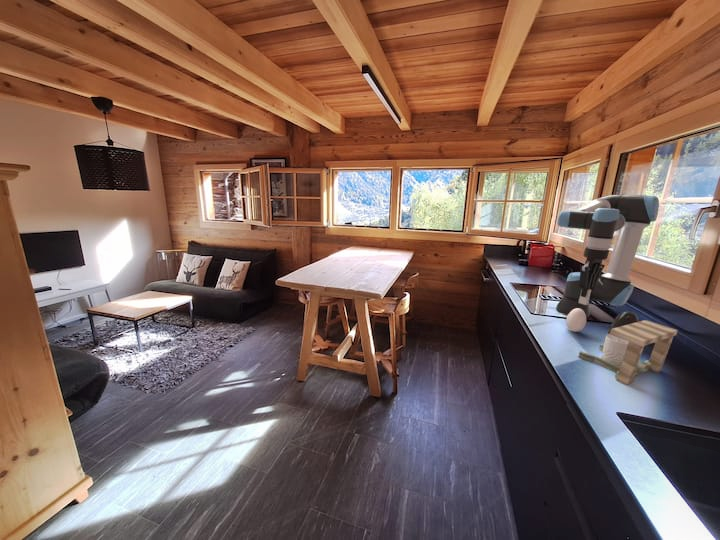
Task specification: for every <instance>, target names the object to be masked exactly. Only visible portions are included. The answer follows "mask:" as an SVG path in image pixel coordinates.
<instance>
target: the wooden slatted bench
mask: <svg viewBox="0 0 720 540" xmlns="http://www.w3.org/2000/svg"><path fill="white" fill-rule="evenodd" d="M678 331H679V330H678V329H676V328H672V327H670V326H666V325H663V324H660V323H656V322H653V321H650V320H647V319H644V320H641V321H639V322H636V323H632V324H628V325H624V326H621V327H617V328H613V329H611V331H610V335H613V336H616V337H618V338H621V339H623V340H626V341H629V342H628V345H627V348H626V351H625V355H624V358H623V361H622V364H621V367H619V366H616V365H614V364H612V363H610V362H608V361H606V360H603V359H601V357H599V356H596V355H594V354H591V353H587V352H583V351H582V350H581V351H579V353H578V358H581V359H583V360H586V361H590V362H593V363H595V364H597V365H599V366H601V367H604V368H605V369H607V370H610V371H612V372H614V373H616V374H615V377H614V378H615V379H616V381H618V382H619V383H620V384H621V383H622V384H624V385H625V386H629V385H631V384H632V383H633V379H634V377H635V376H637V375H640V374H642V373H644V372H648V371H652V372H655V373H660V372H661V371H662V368H663V366H664V363H665V360H666V357H667V356H668V352H669V350H670V347H671V344H672V342H673V338H674V336H677V334H678ZM651 344H654V345H653V349H652V351H651V354H650V357H649V359H645V360H644V361H641V362H640V359H641V356H642V353H643V351H644V348H645V346H648V345H651ZM603 347H604V344H600V345H599V347H598V349H599V351H601V352H603Z"/></svg>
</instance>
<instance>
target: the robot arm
mask: <svg viewBox="0 0 720 540" xmlns="http://www.w3.org/2000/svg"><path fill="white" fill-rule="evenodd" d="M659 200H660V199H659V198H658V197H657V196H656V195H648V194H647V195H646V194H642V195H641V194H611V195H607V196H603V197H602V196H601V197H599V198H595V199H593V200H592V201H590V202H588V204H586V205H583V206H582V207H580V208H579V207H578V208H577V209H575V210H572V209H571V210H570V209H566V210H561V211H560V212H559V214H558V215H557V221H556V222H557V225H558V226H559V227H561V228H566V229H578V230H580V229H581V230H588V231H589V232H588V235H587V238H586V244H585V246H586V247H585V248H584V251H583V255H582V256H583V257H584V258H586V260H585V262H584V265H580V266H579V271H580V272H579V271H577V272H576V271H575V272H570V273H569V274H568V276H567V279H566V283H565V287H564V290H563V295H562V296H561V297H562V298H561V299H560V300H559V302H558V303H557V304H556V307H555V310H556V311H557V312H558V313H560V314H563V315H565V316H568V314H569V313H570V312H571V311H572V310H573V309H576V308H580V309H582V310H583V311H584V312H585V315H586V319H588V318H589V317H590V316H591V315H590V313H591V311H590V304H589V302H590V299H591V300H593V301H598V302H601V303H605V304H609V305H613V306H618V307H622V306H624V305H625V304H626V303H627V301H628V300H629V298H630V297H631V295H632V293H633V290H634V288H635V285H634V284H632V279H630V277H629V275H630V272H631V269H632V267H633V263H634V260H635V258H636V254H637V251H638V247H639V244H640V241H641V239H642V236H643V232H644V229H645V228H647V227H649V226H650V225H651V222H652V223H653V222H656V221H657V217H658V214H659V208H660V201H659ZM617 231H618V233H617V236H616V239H615V242H614V245H613V249H612V252H611V255H610V258H609V254H610V249H611V247H612V244H613V239H614V234H615V232H617ZM608 258H609V261H608V264H607V268H606V272H605V273H603V274H602V272H603V270H604V268H605V266H606V265H605V264H602V263H603V260H604V261H605V260H607V259H608Z"/></svg>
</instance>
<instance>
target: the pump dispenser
mask: <svg viewBox="0 0 720 540" xmlns="http://www.w3.org/2000/svg"><path fill="white" fill-rule="evenodd" d="M636 322H640V321H639V317H638V316H637V314H636V313H634V312H632V311H628V310H627V311H625V310H624V311H622V312H620V313H619V314H618V315H617V316H616V317H615V318H614V320H613V321H612V322H611V324H610V326H609V328H608V330H607V335H608V334H610V331H611V329H613V328H617V327H621V326H624V325H628V324H632V323H636Z"/></svg>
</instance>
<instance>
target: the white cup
mask: <svg viewBox="0 0 720 540" xmlns="http://www.w3.org/2000/svg"><path fill="white" fill-rule="evenodd" d="M604 339H605V340H604V344H603V345H604V347H603V352H602V351H601V352H602V355H601V357H600V358H601V359H603V360H606V361H608V362H610V363H612V364H614V365H616V366H619V367H621V364H622V361H623V358H624V355H625V351H626V348H627V345H628V342H629V341H626V340H623V339H621V338H618V337H616V336H613V335H610V334H608V333H607V334H605V338H604Z"/></svg>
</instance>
